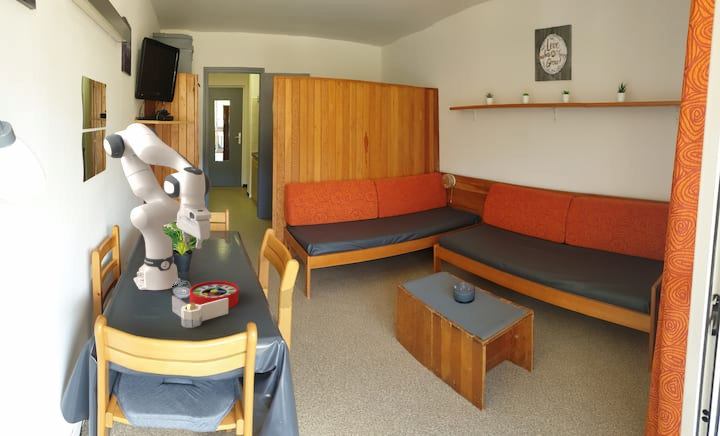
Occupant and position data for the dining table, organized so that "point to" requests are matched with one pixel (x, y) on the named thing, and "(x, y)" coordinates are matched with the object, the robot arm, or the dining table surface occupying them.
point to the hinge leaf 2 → (206, 310)
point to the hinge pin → (191, 306)
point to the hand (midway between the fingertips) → (192, 244)
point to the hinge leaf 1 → (176, 308)
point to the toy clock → (214, 292)
